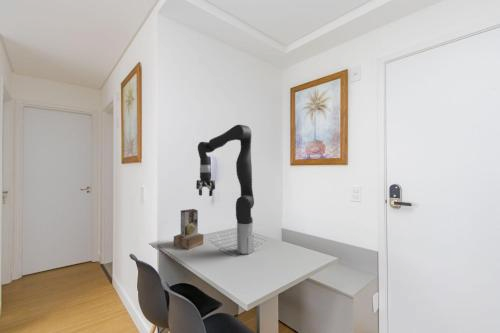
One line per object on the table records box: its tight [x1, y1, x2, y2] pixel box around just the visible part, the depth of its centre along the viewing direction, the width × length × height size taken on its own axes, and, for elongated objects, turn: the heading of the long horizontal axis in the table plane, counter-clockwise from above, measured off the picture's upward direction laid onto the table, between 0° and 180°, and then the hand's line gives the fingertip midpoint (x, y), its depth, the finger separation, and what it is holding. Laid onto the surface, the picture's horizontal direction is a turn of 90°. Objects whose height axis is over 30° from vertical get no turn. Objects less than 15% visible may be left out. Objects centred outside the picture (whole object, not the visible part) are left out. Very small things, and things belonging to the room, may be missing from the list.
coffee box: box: [180, 208, 199, 238], centre depth 153 cm, size 9×6×16 cm
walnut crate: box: [173, 233, 204, 251], centre depth 153 cm, size 13×13×6 cm
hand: (205, 195), depth 161 cm, fingers open, 8 cm apart
